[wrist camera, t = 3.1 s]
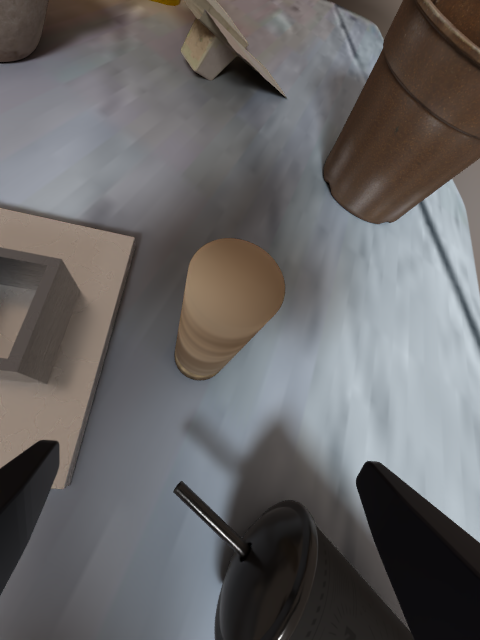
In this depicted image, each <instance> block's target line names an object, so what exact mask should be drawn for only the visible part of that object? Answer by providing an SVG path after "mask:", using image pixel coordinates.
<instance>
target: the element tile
mask: <svg viewBox="0 0 480 640" xmlns="http://www.w3.org/2000/svg"><path fill="white" fill-rule="evenodd" d="M151 1H154V2H158V3H162V4H165V5H170V6H176V5H178V4H179V3H180V0H151Z"/></svg>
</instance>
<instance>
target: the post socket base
mask: <svg viewBox="0 0 480 640" xmlns="http://www.w3.org/2000/svg"><path fill="white" fill-rule="evenodd" d="M135 247H136V245H135V238H134V237H130V236H126V235H121V234H116V233H112V232H107V231H103V230H98V229H94V228H89V227H85V226H80V225H75V224H71V223H66V222H62V221H57V220H53V219H48V218H44V217H39V216H34V215H30V214H25V213H21V212H16V211H12V210H7V209H3V208H0V468H1V467H3V466H4V465H6V464H7V463H8V462H10V461H11V460H12V459H14V458H15V457H17V456H18V455H19V454H21V453H22V452H24V451H25V450H26V449H28V448H29V447H31V446H32V445H33V444H35V443H36V442H38V441H40V440H56V441H58V442H59V445H60V464H59V469H58V472H57V475H56V477H55V480H54V482H53V484H52V487H51V489H64V488H66V487H67V486H69V485H70V483H71V479H72V476H73V472H74V468H75V465H76V461H77V458H78V454H79V450H80V447H81V443H82V439H83V436H84V432H85V429H86V425H87V421H88V418H89V414H90V410H91V407H92V403H93V399H94V396H95V392H96V389H97V385H98V381H99V378H100V374H101V370H102V367H103V363H104V360H105V356H106V352H107V349H108V345H109V341H110V338H111V334H112V331H113V327H114V323H115V320H116V316H117V312H118V309H119V305H120V302H121V298H122V294H123V291H124V287H125V283H126V280H127V276H128V273H129V269H130V265H131V262H132V258H133V254H134V251H135Z"/></svg>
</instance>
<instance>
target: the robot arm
mask: <svg viewBox="0 0 480 640" xmlns="http://www.w3.org/2000/svg"><path fill="white" fill-rule="evenodd" d="M59 464H60V445H59V442H58V441H56V440H40V441H38V442H36V443H35V444H33V445H32V446H31V447H29V448H28V449H26V450H25V451H24V452H22V453H21V454H19V455H18V456H17V457H15V458H14V459H12V460H11V461H10V462H8V463H7V464H6V465H4V466H3V467H1V468H0V595H1V593H2V591H3V589H4V588H5V586H6V584H7V582H8V580H9V578H10V576H11V574H12V572H13V571H14V569H15V567H16V565H17V563H18V561H19V559H20V557H21V555H22V553H23V551H24V549H25V547H26V545H27V543H28V541H29V539H30V537H31V534H32V532H33V530H34V527H35V525H36V523H37V520H38V518H39V515H40V513H41V511H42V508H43V506H44V504H45V501H46V499H47V496H48V494H49V492H50V489H51V487H52V484H53V482H54V480H55V477H56V475H57V472H58V469H59ZM356 486H357V489H358V493H359V496H360V499H361V502H362V505H363V508H364V511H365V514H366V518H367V521H368V524H369V527H370V530H371V533H372V536H373V539H374V542H375V544H376V547H377V550H378V552H379V555H380V557H381V559H382V562H383V564H384V567H385V569H386V572H387V574H388V577H389V579H390V582H391V584H392V587H393V589H394V591H395V594H396V596H397V599H398V601H399V604H400V606H401V609H402V611H403V614H404V616H405V619H406V621H407V623H408V626H409V628H410V631H411V633H412V636H413V638H414V640H480V543H479V542H478V541H477V540H475V539H474V538H473V537H472V536H470V535H469V534H468V533H467V532H466V531H464V530H463V529H462V528H461V527H459V526H458V525H457V524H456V523H454V522H453V521H452V520H451V519H449V518H448V517H447V516H446V515H445V514H443V513H442V512H441V511H440V510H438V509H437V508H436V507H435V506H433V505H432V504H431V503H430V502H428V501H427V500H426V499H425V498H423V497H422V496H421V495H420V494H419V493H417V492H416V491H415V490H414V489H412V488H411V487H410V486H409V485H407V484H406V483H405V482H404V481H402V480H401V479H400V478H399V477H398V476H396V475H395V474H394V473H393V472H391V471H390V470H389V469H388V468H386V467H385V466H384V465H383V464H381V463H380V462H376V461H367V462H365V464H364V465H363V467H362V469H361V471H360V473H359V474H358V476H357V478H356Z"/></svg>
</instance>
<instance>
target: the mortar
mask: <svg viewBox="0 0 480 640" xmlns="http://www.w3.org/2000/svg"><path fill="white" fill-rule="evenodd" d="M47 5H48V0H0V62H9V61H16V60H20V59H23V58H25V57H27V56H28V55H29V54H31V53H32V52H33V51H34V50H35V48H36V47H37V45H38V43H39V41H40V38H41V34H42V30H43V26H44V21H45V15H46V10H47Z"/></svg>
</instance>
